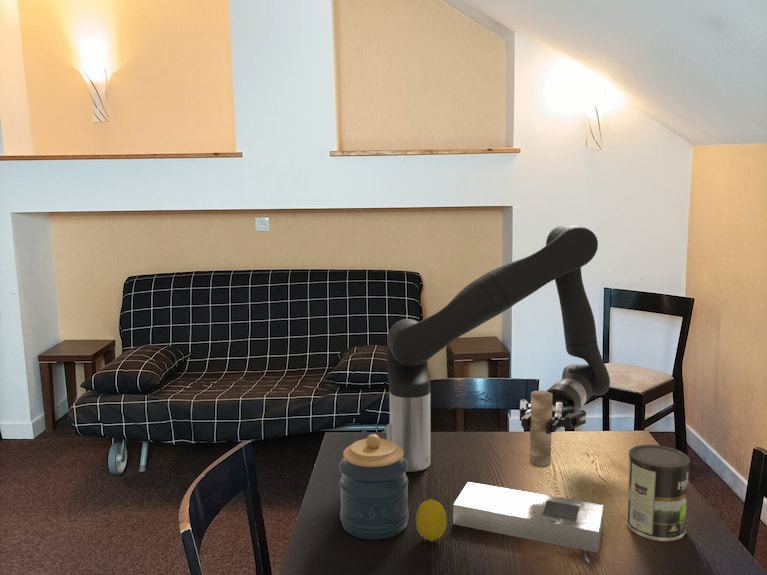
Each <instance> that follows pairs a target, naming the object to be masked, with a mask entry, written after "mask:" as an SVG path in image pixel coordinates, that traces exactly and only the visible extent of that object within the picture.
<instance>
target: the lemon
mask: <svg viewBox="0 0 767 575" xmlns="http://www.w3.org/2000/svg"><path fill="white" fill-rule="evenodd" d="M447 522H448V520H447V512H446V510H445V508H444V506H443V505H442V504H441V503H440V502H439V501H437V500H434V499H433V498H429V499H426V500H424V501H423V502H422V503H420V505H419V506H418V508H417V510H416V514H415V525H416V530H417V532H418V533H419V535H420V536H421V537H422V538H424V539H425V540H428V541H429V542H433V541H435V540H437V539H440V538H441V537H442V536H444V535H443V534H444V533H445V531H446V528H447Z"/></svg>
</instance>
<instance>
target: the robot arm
mask: <svg viewBox="0 0 767 575" xmlns="http://www.w3.org/2000/svg"><path fill="white" fill-rule="evenodd" d="M598 247H599V242H598V238H597V236H596V233H594V232H593V231H592V230H590V229H589V228H587V227H584V226H582V225H576V224H575V225H574V224H562V225H558V226H556V227H554V228H553V229H552V230H551V231H549V234H548V235H547V238H546V241H545V245H544V247H542V248H541V249H539V250H537V251H536V252H534V253H532V254H530V255H527V256H526V257H523V258H520V259H517V260H514V261H512V262H509V263H506V264H503V265H501V266H498V267H496V268H493V269H492V270H489V271H487V273H484V274H483V275H481V276H480V277H477V278H476V279H475V280H473V281H471V282H469V284H467V285H466V286H464V288H462V289H461V290H459V292H458V293H457V294H456V295H455V297H453V298H452V299H451V301H450V302H449V303H447V304H446V305H445V306H444V307H443V308H441V309H440V310H439V311H437V312H435V313H434V314H432V315H430V316H428V317H426V318H425V319H424V318H423V319H422V320H421V321H417V320H415V319H411V318H403V319H400V320H398V321H396V322H395V323H393V324H392V326H391V327H390V328H389V331H388V333H387V338H386V358H387V359H386V363H387V366H386V367H387V379H388V388H389V390H388V392H389V394H388V395H389V423H388V424H386V439H387V440H390V441H392V442H393V443H394V444H396V445H398V446H400V447H401V448H402V449H403V451H404V455H403V457H404V458H405V459H406V460H407V462H408V469H407V470H406V472H409V473H410V472H411V473H412V472H420V471H423V470H426V469H428V468H429V467H431V456H432V454H431V378H430V374H429V367H428V360H430V359H431V358H432V357H434V356H435V355H436V354H438V353H439V352H440V351H442V349H444V348H446V347H447V346H448V345H450V344H451V343H452V342H454V341H455V340H457V339H458V338H460V337H461V336H463V335H465V334H467V333H469V332H471V331H472V330H474V329H476V328H477V327H480V326H482V325H483V324H485V323H486V322H489V321H490V320H492V319H494V318H495V317H497V316H499V315H500V314H502V313H503V312H506V311H507V310H509V309H510V308H511V307H513V306H515V305H516V304H517V303H519V302H521V301H522V300H524V299H526V298H528V296H529V297H530V295H532V294H534V293H535V292H537V291H538V290H539V289H541V288H542V287H544V286H545V285H547V284H549V283H551V282H552V281H554V282H555V286H556V290H557V295H558V298H559V300H558V301H559V306H560V312H561V318H562V326H563V334H564V341H565V343H564V344H565V350H566V352H567V354H568V355H569V356H570V357H571V356H572V357H575V358H578V359H579V358H580V359H582V360H584V361H585V362H586V363H587V364H578V363H576V364H570V365H567V366H565V367H564V368H563V370H562V375H561V377H562V378H561V379H560V381H556V383H554V384H553V385H552V386H551V387H549V388H548V389H547V390H546V391H547V392H550V393H552V395H553V396H552V418H551V419H550V420H549V421H548V422H547V424H546V434H551V435H552V433H555V432H556V431H557V430H561V429H562V428H564V430H567V431H570V430H573V429H575V428H577V427H581V426H583V425H585V424H586V422H587V411H586V410H585V409H583V408H584V406H585V404H586V403H587V402H588V401H589V399H590V398H591V397H592V396H603V395H606V394H607V392H608V391H609V388H610V386H611V385H610V384H611V378H610V375H609V371H608V368H607V367H606V365H605V361H604V360H603V357H602V354H601V352H600V349H599V345H598V339H597V328H596V321H595V317H594V313H593V310H592V307H591V304H590V301H589V298H588V296H587V293H586V290H585V286H584V282H583V276H582V267H584V266H586V265H588V263H589V262H592V260H593V259H594V257H595V255H596V254H597V251H598ZM530 416H531V403H529V402H528V401H527V399H520V402H519V421H521V425H520V426H521V427H522V429H523V430H527V431H528V429H530Z"/></svg>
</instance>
